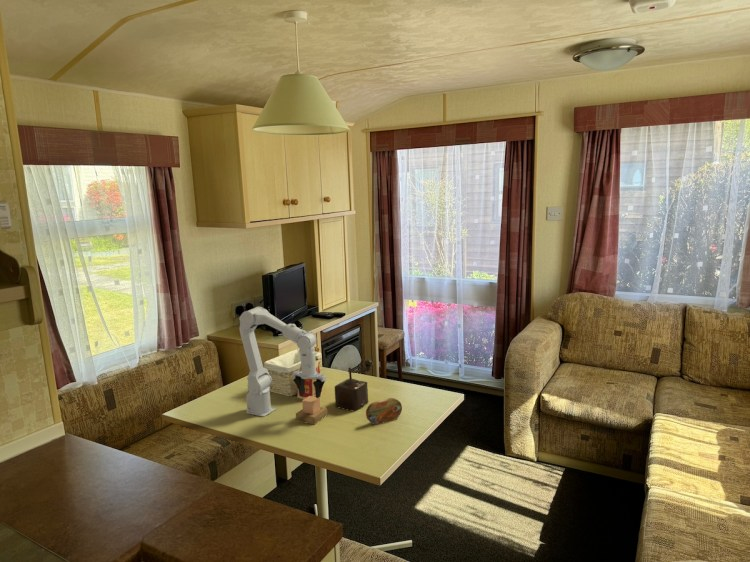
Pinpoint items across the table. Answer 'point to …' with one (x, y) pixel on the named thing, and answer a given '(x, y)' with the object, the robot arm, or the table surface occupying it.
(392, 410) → the tin
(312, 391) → the milk carton
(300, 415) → the brown flat square block
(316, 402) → the terracotta cube
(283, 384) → the storage basket
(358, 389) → the dark brown boxy piece
